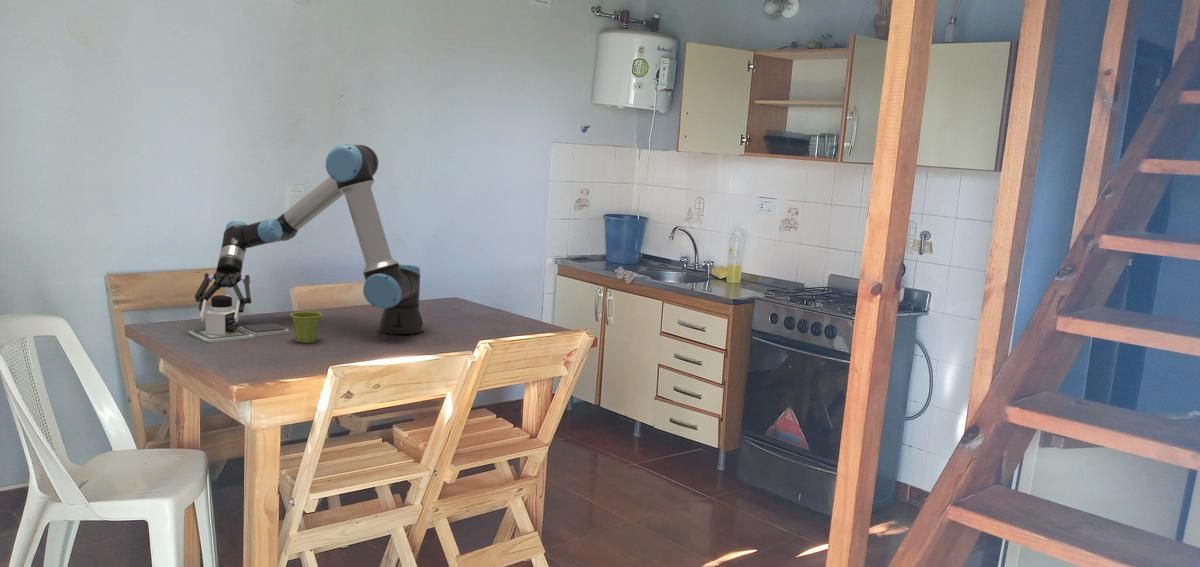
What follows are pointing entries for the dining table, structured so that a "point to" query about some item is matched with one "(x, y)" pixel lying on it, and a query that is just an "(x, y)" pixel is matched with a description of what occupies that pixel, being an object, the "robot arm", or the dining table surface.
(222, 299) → the medicine bottle
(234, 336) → the print board
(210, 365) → the dining table surface
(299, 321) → the plant pot
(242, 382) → the dining table surface
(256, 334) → the ink pad
